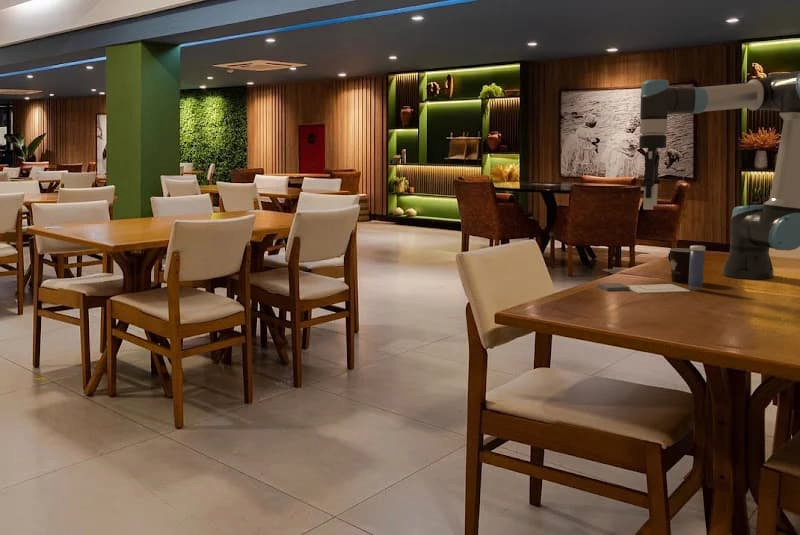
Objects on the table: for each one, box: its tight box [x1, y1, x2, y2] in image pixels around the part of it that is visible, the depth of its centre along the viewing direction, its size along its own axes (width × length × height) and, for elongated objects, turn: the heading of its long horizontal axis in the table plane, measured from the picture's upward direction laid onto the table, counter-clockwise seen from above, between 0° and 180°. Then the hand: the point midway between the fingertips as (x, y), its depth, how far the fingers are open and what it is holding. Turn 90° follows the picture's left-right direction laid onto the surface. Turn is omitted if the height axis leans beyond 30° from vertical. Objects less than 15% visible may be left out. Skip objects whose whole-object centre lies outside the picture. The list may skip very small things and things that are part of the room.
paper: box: [627, 283, 691, 294], centre depth 226 cm, size 16×11×1 cm
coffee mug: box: [667, 247, 690, 284], centre depth 240 cm, size 12×9×10 cm
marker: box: [687, 244, 706, 292], centre depth 224 cm, size 4×4×13 cm
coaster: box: [597, 282, 631, 292], centre depth 227 cm, size 7×7×1 cm
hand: (650, 207), depth 224 cm, fingers open, 13 cm apart
